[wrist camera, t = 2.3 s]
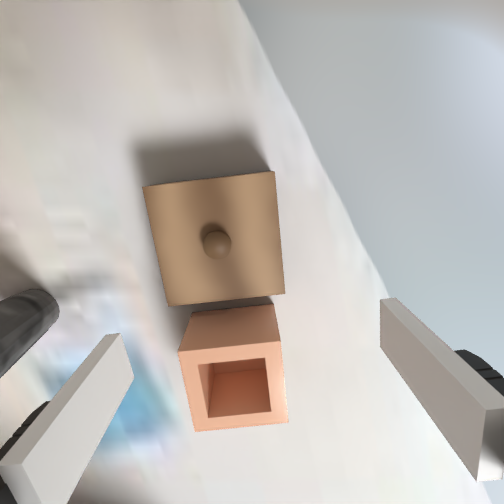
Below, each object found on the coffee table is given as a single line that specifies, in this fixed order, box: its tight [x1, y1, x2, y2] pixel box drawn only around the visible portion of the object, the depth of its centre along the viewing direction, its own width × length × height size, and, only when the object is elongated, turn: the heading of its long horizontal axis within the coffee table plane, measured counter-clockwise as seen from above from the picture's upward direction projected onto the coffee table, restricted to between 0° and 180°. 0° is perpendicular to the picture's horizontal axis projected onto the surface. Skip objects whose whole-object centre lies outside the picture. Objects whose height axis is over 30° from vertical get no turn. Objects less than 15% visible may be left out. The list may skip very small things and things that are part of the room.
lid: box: [142, 171, 285, 307], centre depth 26 cm, size 11×11×4 cm
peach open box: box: [178, 304, 289, 432], centre depth 30 cm, size 9×9×7 cm
